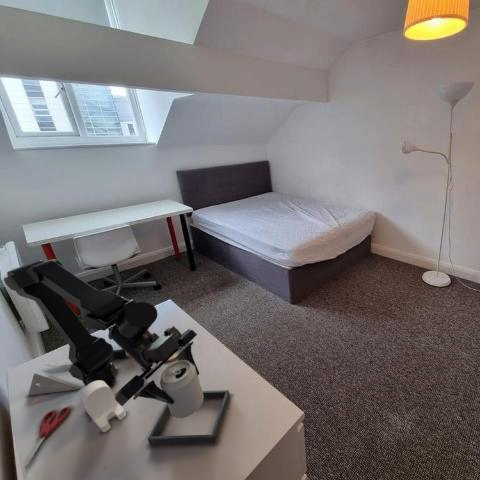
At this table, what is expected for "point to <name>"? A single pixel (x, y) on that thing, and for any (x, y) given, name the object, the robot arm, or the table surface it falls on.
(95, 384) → the white phone stand
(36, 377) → the grey triangular spike
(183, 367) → the can
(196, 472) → the table surface
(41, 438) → the scissors
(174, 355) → the cork coaster
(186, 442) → the dark grey rectangular frame
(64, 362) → the knife
